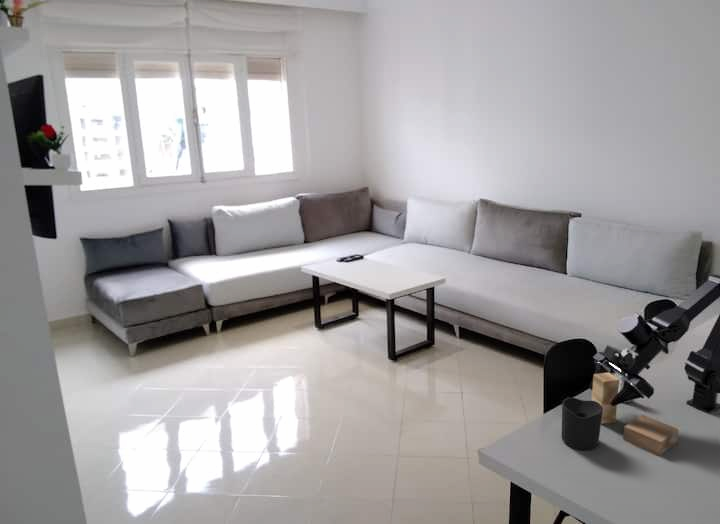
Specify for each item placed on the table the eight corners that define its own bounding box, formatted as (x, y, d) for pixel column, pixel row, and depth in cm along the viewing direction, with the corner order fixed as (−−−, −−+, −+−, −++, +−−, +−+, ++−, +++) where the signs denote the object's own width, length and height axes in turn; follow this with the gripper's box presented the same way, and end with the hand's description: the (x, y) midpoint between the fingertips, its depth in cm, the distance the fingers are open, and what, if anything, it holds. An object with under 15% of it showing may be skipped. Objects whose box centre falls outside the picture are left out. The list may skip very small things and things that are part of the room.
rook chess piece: (633, 403, 156) (636, 378, 154) (616, 402, 156) (619, 377, 154) (628, 396, 160) (631, 371, 158) (612, 395, 161) (615, 370, 159)
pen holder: (580, 456, 132) (583, 419, 130) (551, 437, 140) (554, 402, 138) (608, 445, 136) (611, 409, 134) (578, 427, 144) (581, 393, 142)
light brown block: (640, 428, 144) (641, 414, 143) (676, 443, 137) (678, 429, 136) (622, 440, 139) (624, 426, 138) (659, 456, 132) (661, 442, 131)
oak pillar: (604, 413, 151) (608, 372, 148) (615, 422, 146) (619, 379, 143) (590, 415, 150) (593, 374, 147) (600, 424, 146) (603, 381, 143)
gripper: (602, 324, 152) (563, 364, 153) (648, 350, 134) (604, 396, 135) (624, 347, 155) (586, 387, 156) (673, 376, 138) (630, 420, 138)
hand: (600, 396), depth 146 cm, fingers open, 9 cm apart
